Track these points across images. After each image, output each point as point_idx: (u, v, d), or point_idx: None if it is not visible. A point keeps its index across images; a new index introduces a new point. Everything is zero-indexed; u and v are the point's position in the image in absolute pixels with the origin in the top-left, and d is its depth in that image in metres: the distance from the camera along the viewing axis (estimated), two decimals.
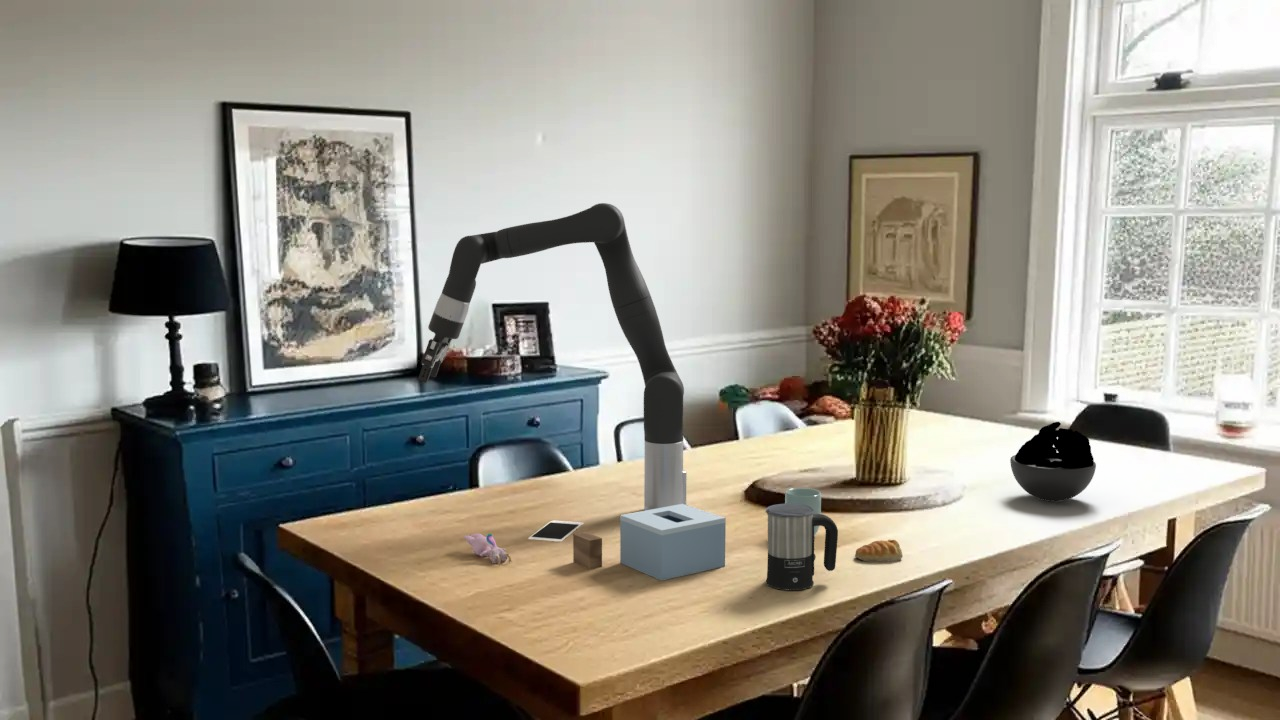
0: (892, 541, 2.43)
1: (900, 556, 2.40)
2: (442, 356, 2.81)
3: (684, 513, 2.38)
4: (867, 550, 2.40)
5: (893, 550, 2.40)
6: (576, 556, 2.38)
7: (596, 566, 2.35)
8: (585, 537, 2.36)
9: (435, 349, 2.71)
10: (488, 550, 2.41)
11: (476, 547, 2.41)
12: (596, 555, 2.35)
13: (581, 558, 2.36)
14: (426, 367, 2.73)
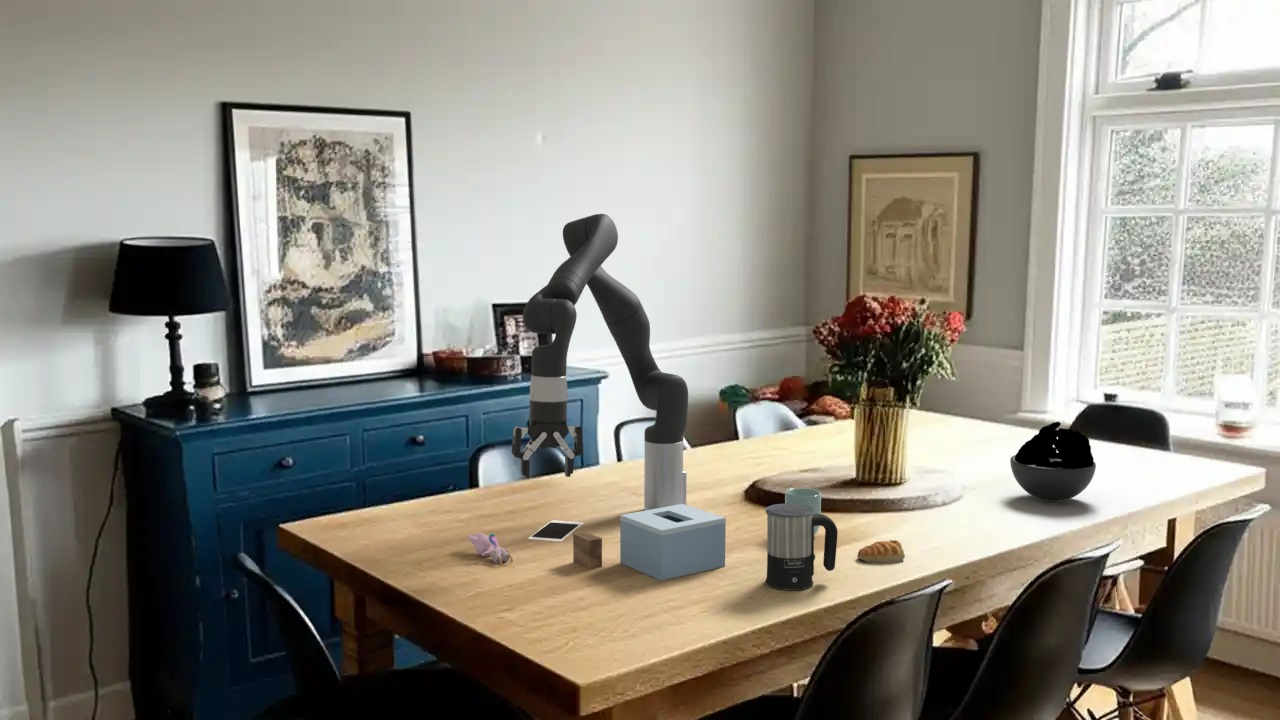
0: (894, 542, 2.42)
1: (902, 557, 2.40)
2: None
3: (684, 513, 2.38)
4: (869, 551, 2.39)
5: (896, 551, 2.39)
6: (576, 556, 2.38)
7: (596, 566, 2.35)
8: (585, 537, 2.36)
9: None
10: (490, 550, 2.40)
11: (479, 547, 2.41)
12: (596, 555, 2.35)
13: (581, 558, 2.36)
14: None
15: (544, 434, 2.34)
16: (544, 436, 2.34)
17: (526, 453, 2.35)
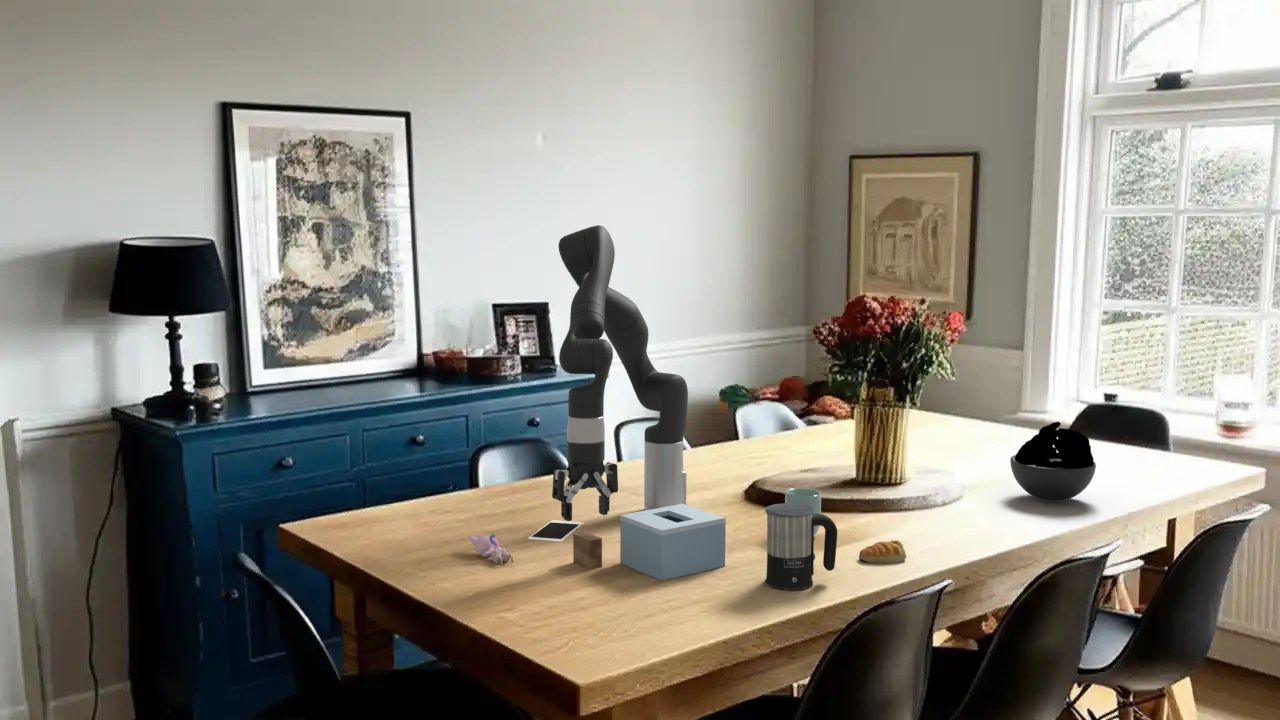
0: (895, 542, 2.42)
1: (904, 557, 2.40)
2: None
3: (684, 513, 2.38)
4: (871, 552, 2.39)
5: (897, 551, 2.39)
6: (576, 556, 2.38)
7: (596, 566, 2.35)
8: (585, 537, 2.36)
9: None
10: (491, 550, 2.40)
11: (479, 547, 2.41)
12: (596, 555, 2.35)
13: (581, 558, 2.36)
14: None
15: (586, 475, 2.33)
16: (586, 477, 2.33)
17: (569, 496, 2.32)
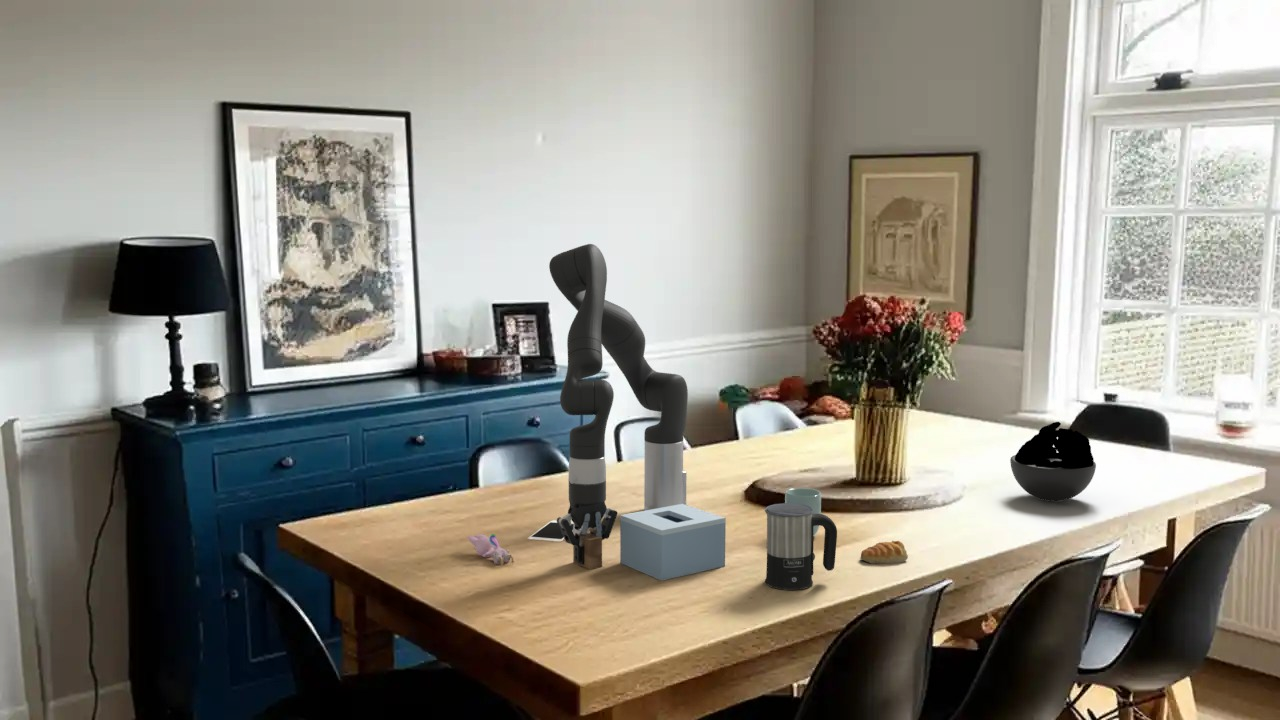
0: (897, 542, 2.42)
1: (905, 557, 2.39)
2: None
3: (684, 513, 2.38)
4: (873, 552, 2.38)
5: (899, 551, 2.39)
6: None
7: (596, 565, 2.35)
8: (585, 536, 2.36)
9: None
10: (491, 551, 2.40)
11: (479, 548, 2.41)
12: (596, 554, 2.35)
13: None
14: None
15: (587, 515, 2.34)
16: (588, 517, 2.34)
17: (580, 540, 2.34)
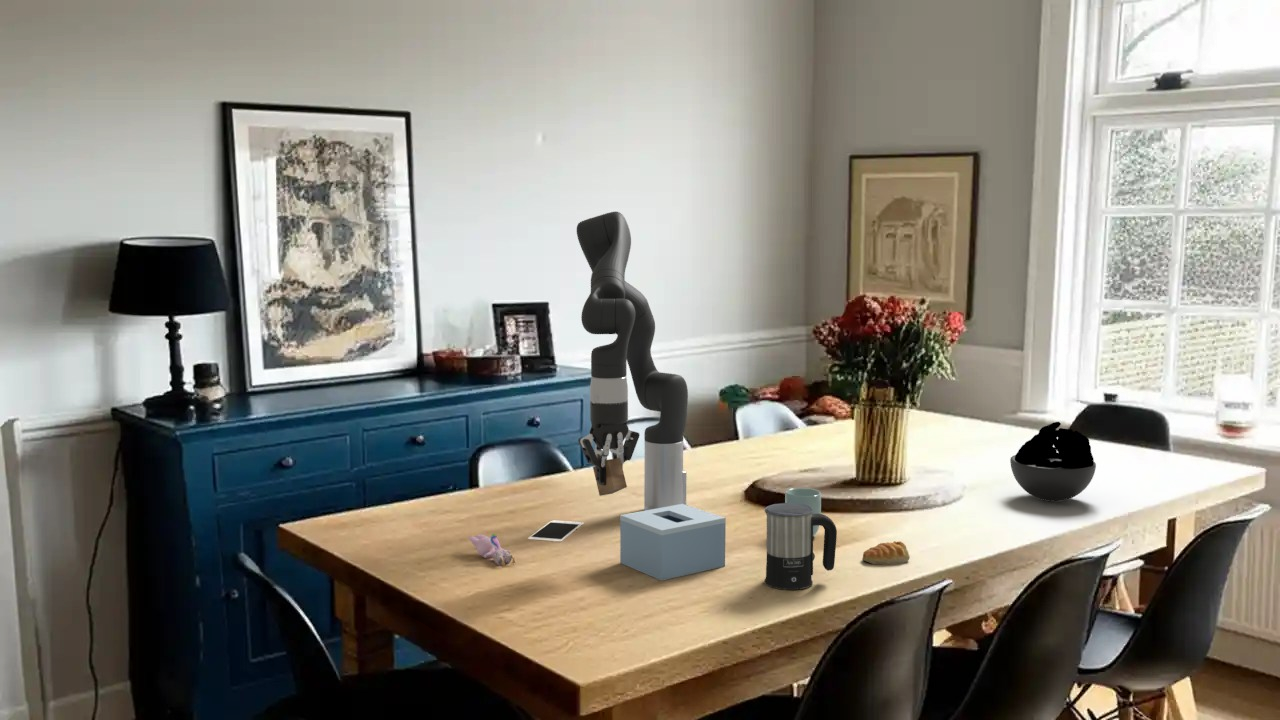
0: (898, 543, 2.41)
1: (907, 558, 2.39)
2: None
3: (684, 513, 2.38)
4: (875, 553, 2.38)
5: (901, 552, 2.38)
6: (600, 487, 2.36)
7: (620, 485, 2.32)
8: None
9: None
10: (492, 551, 2.40)
11: (480, 548, 2.41)
12: (618, 474, 2.33)
13: None
14: None
15: (609, 435, 2.32)
16: (610, 437, 2.32)
17: (602, 460, 2.33)
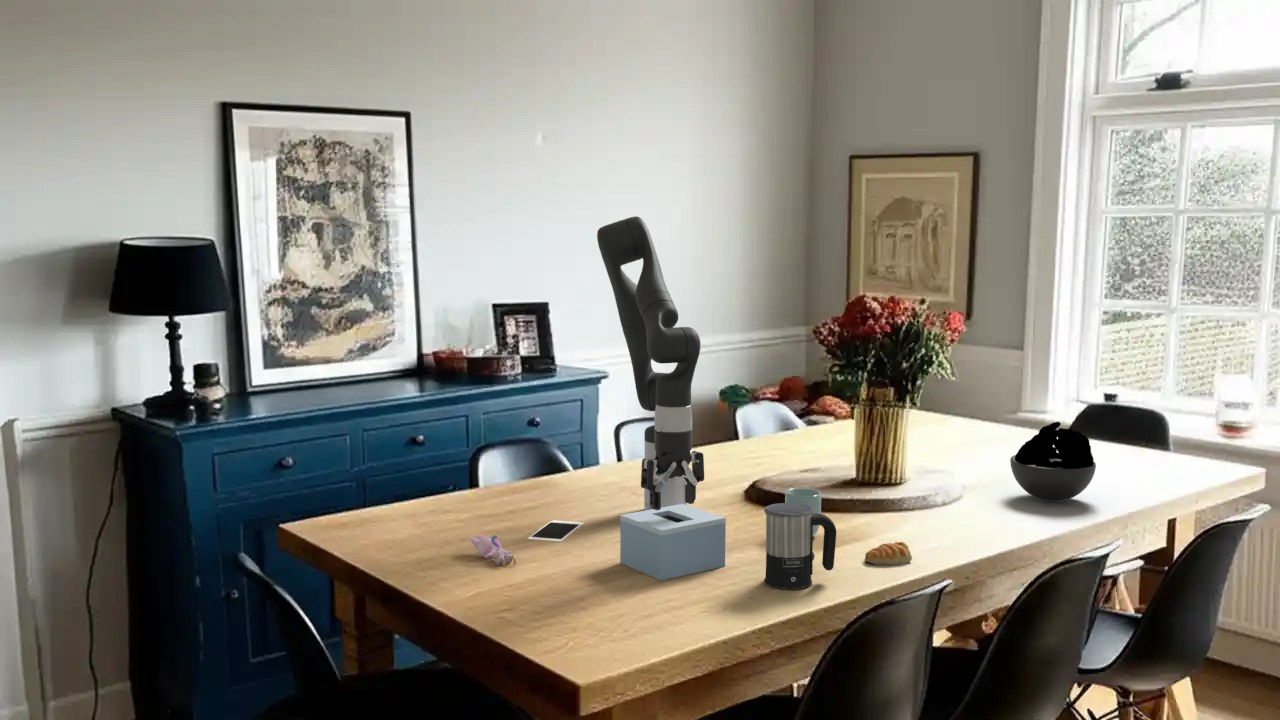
0: (900, 543, 2.41)
1: (910, 558, 2.39)
2: None
3: (684, 513, 2.38)
4: (877, 554, 2.37)
5: (903, 552, 2.38)
6: None
7: None
8: None
9: None
10: (493, 552, 2.39)
11: (481, 549, 2.40)
12: None
13: None
14: None
15: (674, 464, 2.32)
16: (674, 466, 2.33)
17: (658, 485, 2.32)
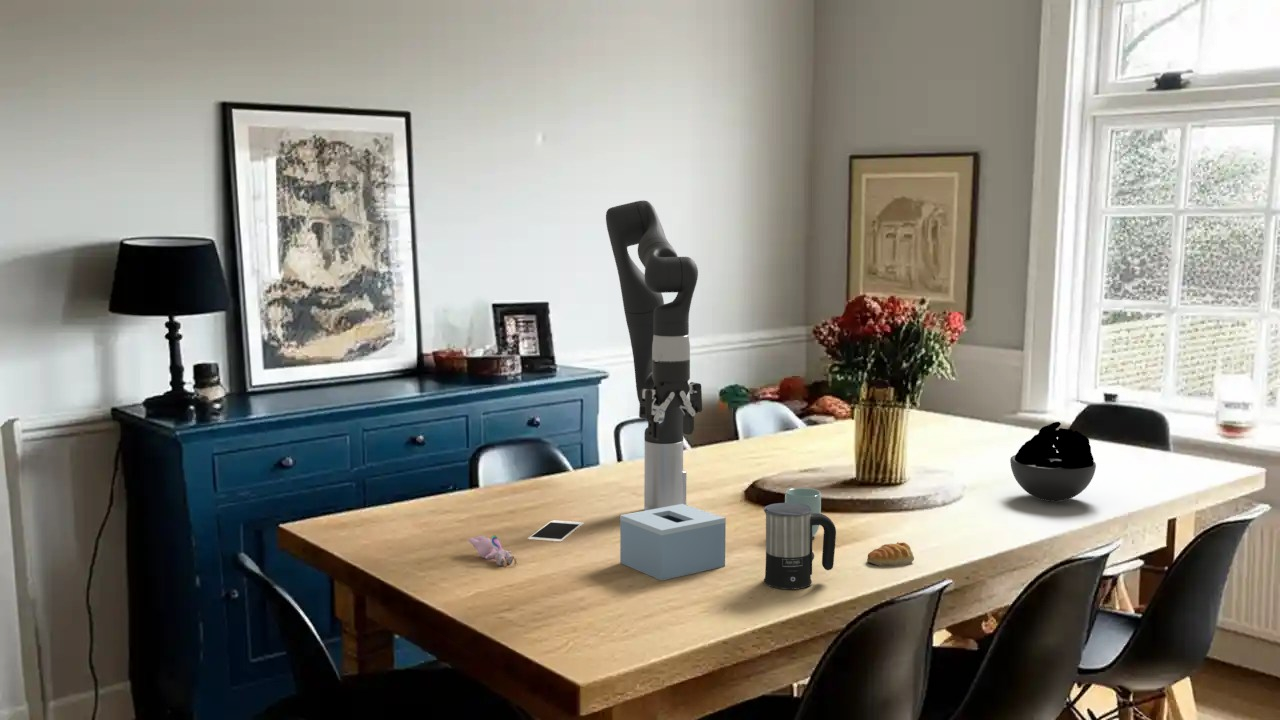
0: (902, 544, 2.40)
1: (912, 559, 2.38)
2: None
3: (684, 513, 2.38)
4: (880, 555, 2.37)
5: (906, 553, 2.38)
6: None
7: None
8: None
9: None
10: (493, 553, 2.39)
11: (481, 550, 2.40)
12: None
13: None
14: None
15: (672, 394, 2.32)
16: (672, 396, 2.32)
17: (656, 415, 2.31)
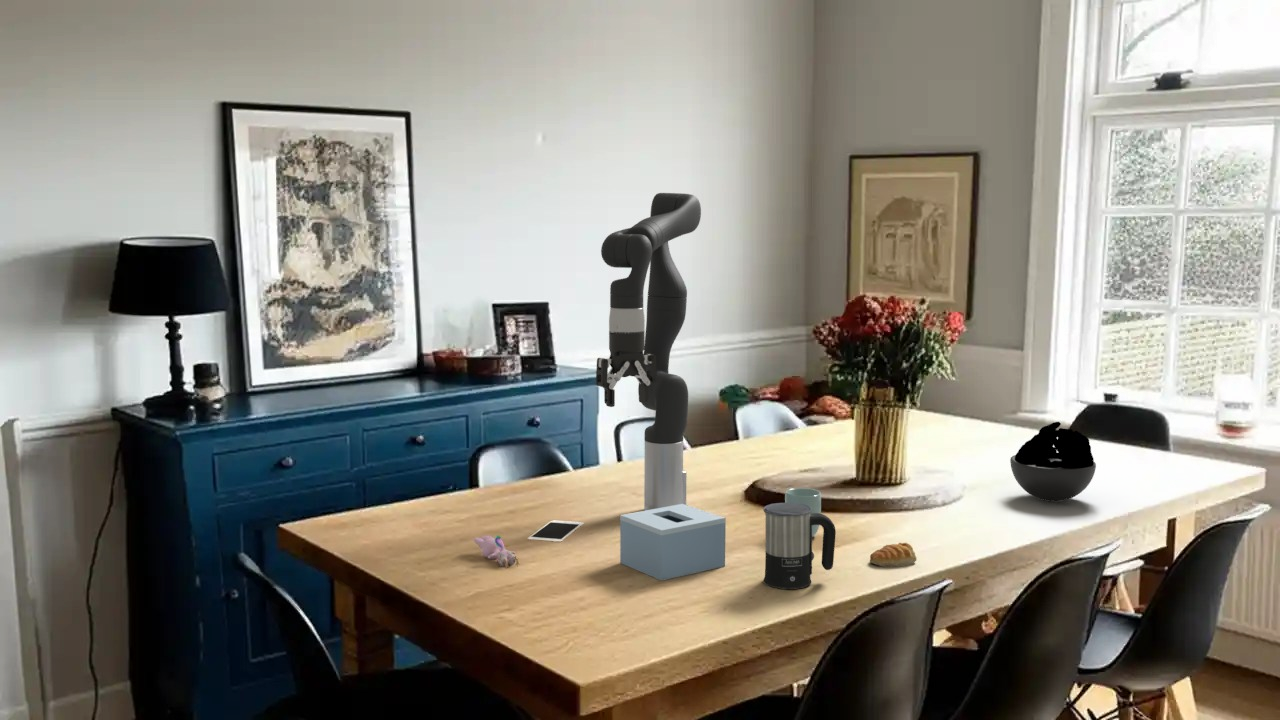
0: (904, 544, 2.40)
1: (914, 559, 2.38)
2: None
3: (684, 513, 2.38)
4: (883, 555, 2.36)
5: (908, 553, 2.37)
6: None
7: None
8: None
9: None
10: (496, 553, 2.39)
11: (485, 549, 2.40)
12: None
13: None
14: None
15: (627, 363, 2.47)
16: (627, 365, 2.47)
17: (612, 382, 2.46)
